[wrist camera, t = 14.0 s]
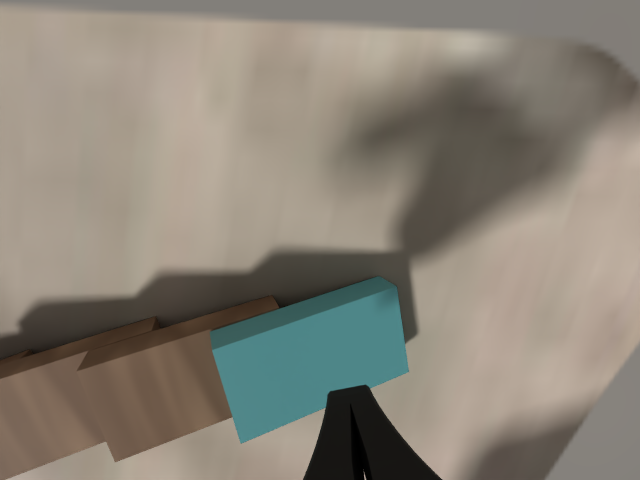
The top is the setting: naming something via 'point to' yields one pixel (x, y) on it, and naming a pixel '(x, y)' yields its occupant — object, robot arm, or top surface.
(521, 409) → the top surface
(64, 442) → the domino
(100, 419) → the domino
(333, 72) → the top surface
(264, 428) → the teal rectangular block
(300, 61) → the top surface
